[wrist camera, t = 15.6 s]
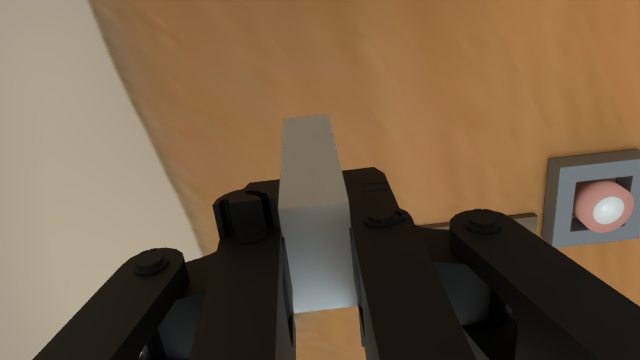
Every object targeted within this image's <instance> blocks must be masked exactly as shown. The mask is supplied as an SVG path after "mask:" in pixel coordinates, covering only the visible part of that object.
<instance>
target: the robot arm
mask: <svg viewBox="0 0 640 360" xmlns="http://www.w3.org/2000/svg"><path fill="white" fill-rule="evenodd" d="M213 210H214V215H215V219H216V224H217V228H218V233H219V238H220V240H219V244H218V248H217V251H216V252H214V253H212V254H210V255H207V256H204V257H202V258H199V259H195V260H192V261H188V262H185V260H184V257H183V254H182V252H180V251H178V250H177V249H172V248H159V249H158V248H154V249H150V250H149V251H148V250H146V251H143V252H141V253H140V254H138V255H136V256H134V257H132V258H130V259H129V260H128V261H126V262H125V263H124V264H123V265H122V266H121V267H120V268H119V269H118V270H117V271H116V272H115V273H114V274H113V275H112V276H111V277H110V278H109V280H107V282H105V283H104V285H103V286H102V287H101V288H100V289H99V290H98V291H97V292H96V293H95V294H94V295H93V296H92V297H91V298H90V299H89V300H88V302H87V303H86V304H85V305H84V306H83V307H82V308H81V309H80V310H79V311H78V312H77V313H76V314H75V315H74V316H73V317H72V319H70V320H69V322H68V323H67V324H66V325H65V326H64V327H63V328H62V329H61V330H60V331H59V332H58V333H57V334H56V335H55V336H54V338H52V340H51V341H50V342H49V343H48V344H47V345H46V346H45V347H44V348H43V349H42V350H41V351H40V352H39V353H38V354H37V355H36V356H35V358H34V359H33V360H296V328H295V321H294V315H293V308H294V313H301V312H309V311H318V310H327V309H335V308H344V307H352V306H358V309H359V320H360V331H361V342H362V347H363V346H364V348H365V353H366V359H367V360H640V307H639V306H638V305H637V304H635V303H634V302H632V301H631V300H629V299H628V298H626V297H625V296H624V295H622V294H621V293H619V292H618V291H616V290H615V289H613V288H612V287H611V286H609V285H608V284H606V283H605V282H603V281H602V280H600V279H599V278H598V277H596V276H595V275H593V274H592V273H590V272H589V271H587V270H586V269H585V268H583V267H582V266H580V265H579V264H577V263H576V262H574V261H573V260H572V259H570V258H569V257H567V256H566V255H564V254H563V253H561V252H560V251H559V250H557V249H556V248H554V247H553V246H551V245H550V244H548V243H547V242H546V241H544V240H543V239H541V238H540V237H538V236H537V235H536V234H534V233H533V232H531V231H530V230H528V229H527V228H525V227H524V226H523V225H521V224H520V223H518V222H517V221H515V220H514V219H512V218H511V217H509V216H507V215H505V214H503V213H500V212H496V211H491V210H489V209H483V210H481V209H474V210H469V211H464V212H461V213H459V214H456V215H455V216H454V217H453V218H452V219H451V220H450V225H449V230H446V229H432V228H425V227H421V226H417V225H415V224H414V221H413V219H412V217H411V216H410V215H409V213H408V212H407V211H405V210H403V209H400V208H399V206H398V204H397V202H396V199H395V197H394V195H393V192H392V190H391V188H390V185H389V183H388V181H387V178H386V176H385V174H384V173H383V172H381V171H380V170H378V169H376V168H375V167H370V168H361V169H353V170H344V171H342V170H341V166H340V161H339V157H338V153H337V148H336V144H335V140H334V136H333V131H332V127H331V123H330V118H329V114H322V115H314V116H305V117H297V118H288V119H284V120H283V137H282V153H281V169H280V179H279V180H270V181H261V182H253V183H249V184H248V185H247V186H246V187H245V188H244V189H241V190H236V191H233V192H230V193H228V194H225V195H223V196H222V197H220V198H218V199H217V200H216V201H215V203H214V204H213ZM141 352H142V354H141ZM140 354H141V356H140ZM139 356H140V357H139Z"/></svg>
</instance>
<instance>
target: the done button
mask: <svg viewBox="0 0 640 360" xmlns="http://www.w3.org/2000/svg"><path fill="white" fill-rule="evenodd" d="M633 207H634V200H633V197H632V195H631V194H630V192H629V191H627V190H626V189H624V188H623V187H622V186H620V185H619V184H617V183H616V182H614V181H613V180H611V179H610V178H608V179H599V180H590V181H581V182H577V183H576V187H575V195H574V203H573V211H572V214H573V215H574V216H575V217H576V218H577V219H578V220H580V221H581V222H582V223H583V224H584V225H585V226H586V227H587V228H588V229H590V230H592V231H594V232H599V233H604V232H609V231H612V230H615V229H617V228H619V227H620V226H621V225H623V224H624V223H625V222H626V221H627V220H628V218H629V217H630V215H631V214H632V211H633Z"/></svg>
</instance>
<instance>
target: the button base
mask: <svg viewBox="0 0 640 360" xmlns="http://www.w3.org/2000/svg"><path fill="white" fill-rule="evenodd" d="M608 178H616V183H617V184H619V185H620V186H622V187H623V188H624V189H626V190H627V191H629V192H630V194H631V195H632V197H633V200H634V207H633V211H632V214H631V215H630V217H629V218H628V220H627V221H626V222H625V223H624V224H623V225H621V226H620V227H619V228H617V229H615V230H612V231H609V232H604V233H599V232H594V231H592V230H590V229H588V228H587V227H586V226H585V225H584V224H583V223H582V222H581V221H580V220H578V219H572V211H573V203H574V195H575V187H576V182H581V181H590V180H599V179H608ZM639 233H640V150H639V149H632V150H623V151H614V152H605V153H596V154H587V155H578V156H569V157H560V158H551V159H549V160H548V170H547V181H546V191H545V202H544V213H543V223H542V234H541V237H542V238H543V239H544V240H545V241H546V242H547V243H548V244H550V245H551V246H553V247H554V248H558V247H567V246H576V245H585V244H594V243H603V242H612V241H620V240H629V239H638V238H639Z"/></svg>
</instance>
